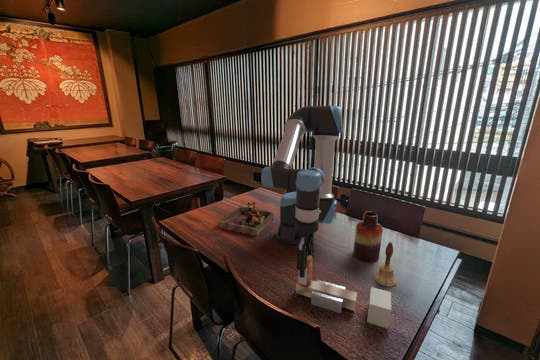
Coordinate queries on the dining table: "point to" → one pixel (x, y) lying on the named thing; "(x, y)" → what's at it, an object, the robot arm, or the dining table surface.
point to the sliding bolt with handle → (325, 289)
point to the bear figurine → (252, 217)
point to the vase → (368, 238)
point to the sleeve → (327, 299)
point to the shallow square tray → (249, 230)
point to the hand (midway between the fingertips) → (304, 278)
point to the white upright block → (379, 307)
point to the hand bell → (386, 270)
